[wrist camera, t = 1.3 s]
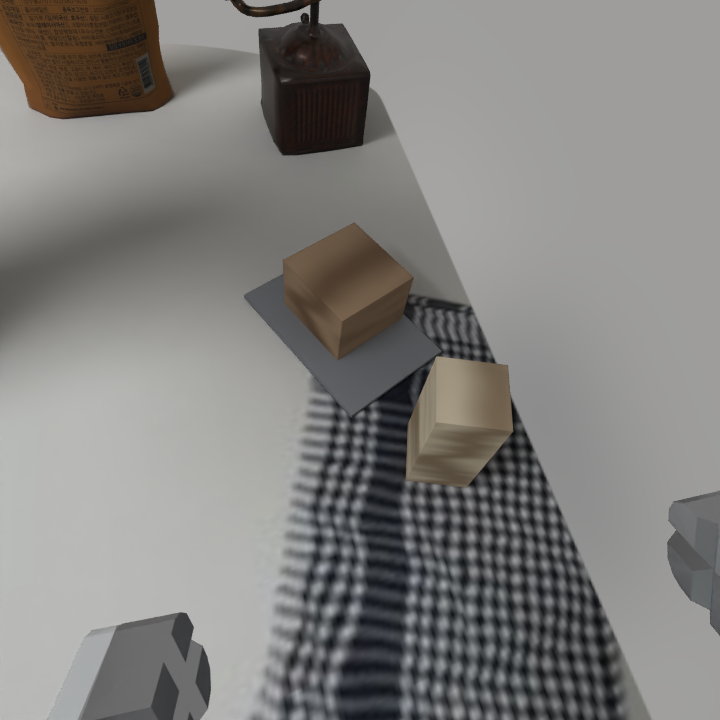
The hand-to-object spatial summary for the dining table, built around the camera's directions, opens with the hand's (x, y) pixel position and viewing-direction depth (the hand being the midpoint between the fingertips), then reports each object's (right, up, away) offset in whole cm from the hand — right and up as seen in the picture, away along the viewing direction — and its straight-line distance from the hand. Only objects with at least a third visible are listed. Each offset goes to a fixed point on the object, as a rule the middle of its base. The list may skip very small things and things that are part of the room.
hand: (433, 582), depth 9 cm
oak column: (+5, -4, +36) cm, 36 cm away
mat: (-3, +7, +42) cm, 42 cm away
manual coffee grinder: (-10, +32, +57) cm, 66 cm away
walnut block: (-3, +8, +42) cm, 43 cm away
